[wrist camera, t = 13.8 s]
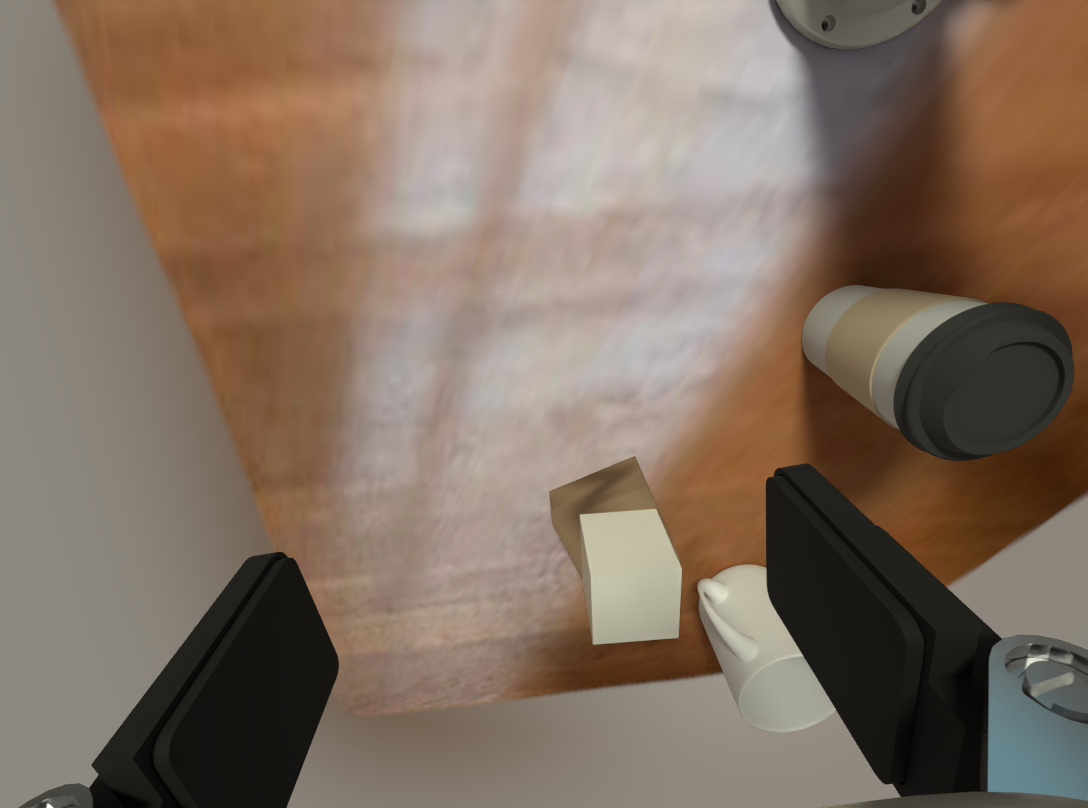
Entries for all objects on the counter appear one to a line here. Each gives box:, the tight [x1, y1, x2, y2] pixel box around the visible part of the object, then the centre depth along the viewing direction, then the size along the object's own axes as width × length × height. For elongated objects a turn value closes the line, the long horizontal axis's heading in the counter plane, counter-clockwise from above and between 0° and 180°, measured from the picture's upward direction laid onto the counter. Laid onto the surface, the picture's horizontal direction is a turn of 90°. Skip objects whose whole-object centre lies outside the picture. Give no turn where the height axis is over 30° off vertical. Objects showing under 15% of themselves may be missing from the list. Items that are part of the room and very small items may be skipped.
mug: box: [697, 564, 836, 733], centre depth 45 cm, size 9×12×11 cm
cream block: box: [580, 509, 682, 645], centre depth 38 cm, size 6×6×7 cm
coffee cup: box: [801, 285, 1074, 461], centre depth 33 cm, size 9×9×15 cm
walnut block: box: [549, 456, 681, 579], centre depth 44 cm, size 8×8×5 cm
